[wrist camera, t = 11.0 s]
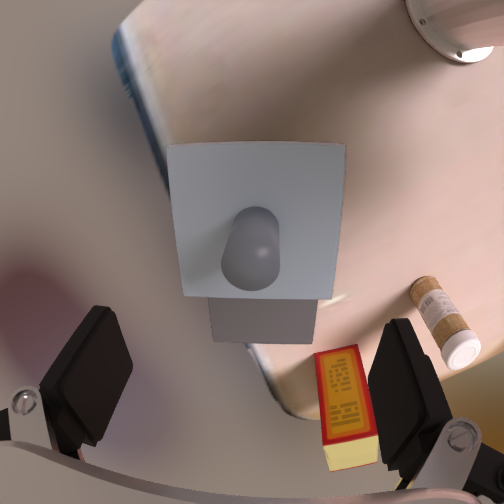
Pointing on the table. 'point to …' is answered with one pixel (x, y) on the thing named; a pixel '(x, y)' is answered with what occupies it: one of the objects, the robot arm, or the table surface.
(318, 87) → the table surface
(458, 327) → the sprinkles bottle
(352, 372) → the baking soda box
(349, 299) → the table surface
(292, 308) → the mat
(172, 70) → the table surface
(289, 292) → the lid
